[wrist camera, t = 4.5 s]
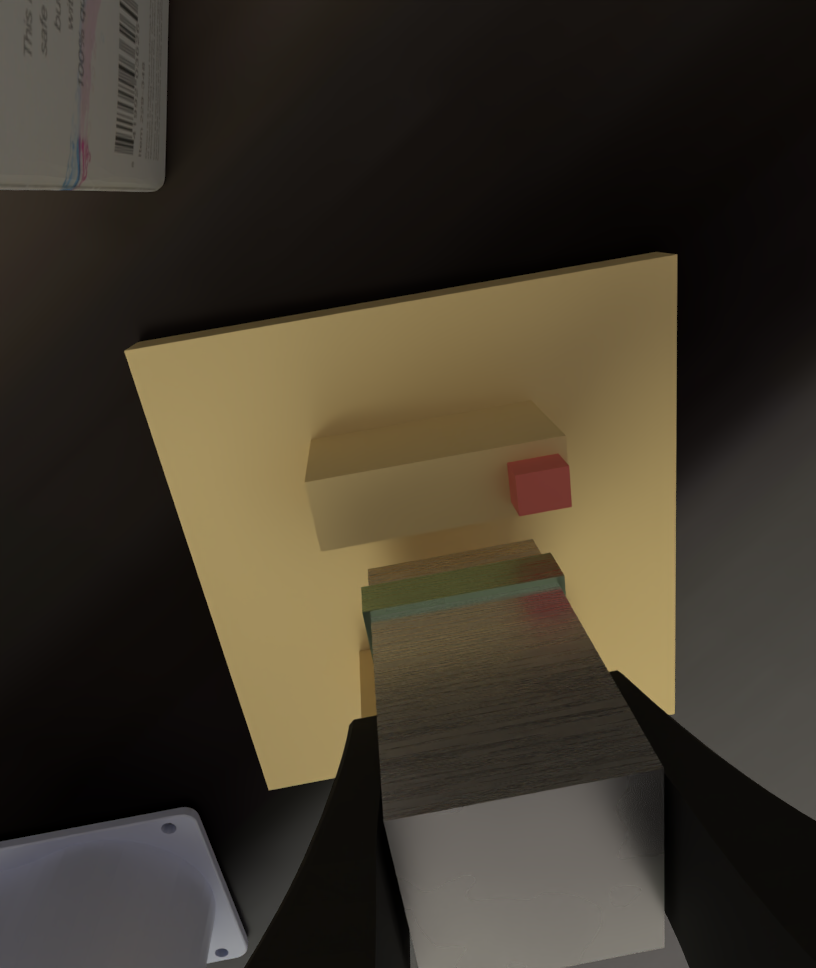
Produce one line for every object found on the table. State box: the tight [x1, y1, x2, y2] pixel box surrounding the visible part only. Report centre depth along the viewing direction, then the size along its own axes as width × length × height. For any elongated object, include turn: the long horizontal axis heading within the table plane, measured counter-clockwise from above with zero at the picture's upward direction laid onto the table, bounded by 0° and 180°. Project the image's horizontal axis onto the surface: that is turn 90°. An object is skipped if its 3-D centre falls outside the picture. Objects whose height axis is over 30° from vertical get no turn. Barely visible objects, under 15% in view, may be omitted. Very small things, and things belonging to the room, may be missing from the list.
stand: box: [124, 252, 677, 790], centre depth 18 cm, size 14×15×5 cm
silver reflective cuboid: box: [361, 539, 664, 968], centre depth 13 cm, size 4×4×7 cm
